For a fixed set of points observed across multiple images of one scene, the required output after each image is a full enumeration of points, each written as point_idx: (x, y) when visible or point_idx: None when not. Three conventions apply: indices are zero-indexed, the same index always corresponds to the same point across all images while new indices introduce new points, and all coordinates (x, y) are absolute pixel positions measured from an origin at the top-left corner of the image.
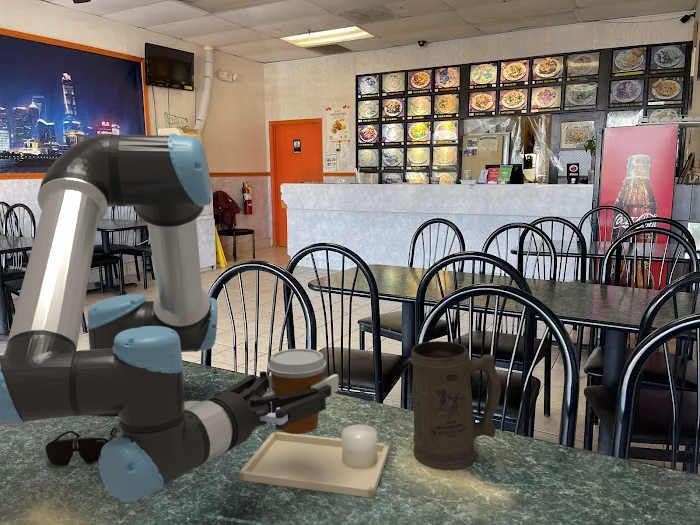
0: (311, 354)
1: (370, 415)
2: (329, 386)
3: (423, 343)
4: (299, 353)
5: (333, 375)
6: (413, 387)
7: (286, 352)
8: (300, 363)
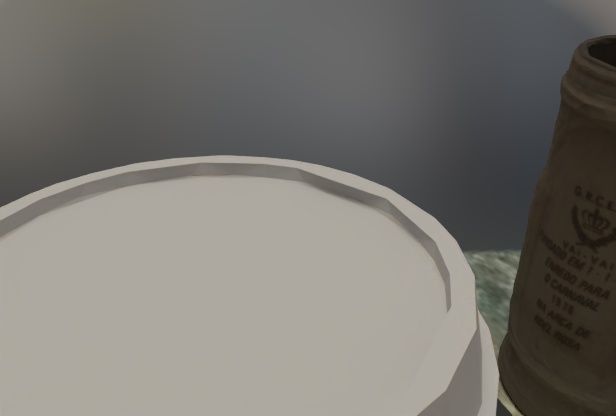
0: (261, 196)
1: None
2: (496, 410)
3: (587, 47)
4: (155, 208)
5: None
6: (591, 223)
7: (27, 224)
8: (333, 353)
